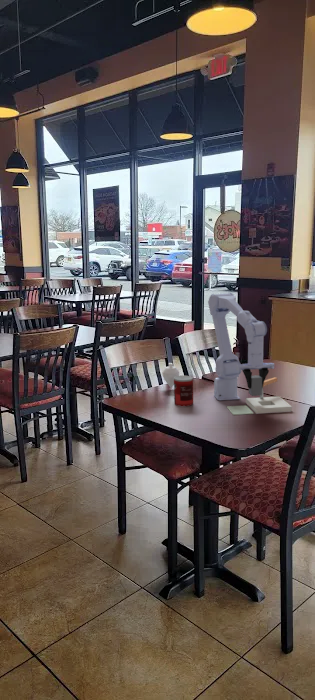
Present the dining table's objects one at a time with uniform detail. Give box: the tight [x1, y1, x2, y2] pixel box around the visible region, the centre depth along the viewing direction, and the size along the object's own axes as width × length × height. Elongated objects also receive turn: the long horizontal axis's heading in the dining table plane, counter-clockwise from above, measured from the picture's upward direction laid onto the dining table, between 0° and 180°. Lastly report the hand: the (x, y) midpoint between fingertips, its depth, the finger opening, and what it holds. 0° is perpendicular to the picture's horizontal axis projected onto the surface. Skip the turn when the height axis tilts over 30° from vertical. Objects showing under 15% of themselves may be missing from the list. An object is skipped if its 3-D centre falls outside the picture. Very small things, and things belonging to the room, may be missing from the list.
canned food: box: [173, 375, 194, 407], centre depth 210 cm, size 8×8×11 cm
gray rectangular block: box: [248, 374, 262, 397], centre depth 200 cm, size 4×4×7 cm
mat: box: [226, 405, 255, 416], centre depth 200 cm, size 8×10×1 cm
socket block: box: [245, 387, 293, 415], centre depth 203 cm, size 14×14×7 cm
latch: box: [263, 376, 278, 388], centre depth 210 cm, size 11×2×2 cm, turn 134°
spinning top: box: [162, 362, 180, 390], centre depth 232 cm, size 8×8×12 cm
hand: (255, 387), depth 200 cm, fingers closed on gray rectangular block, 4 cm apart
